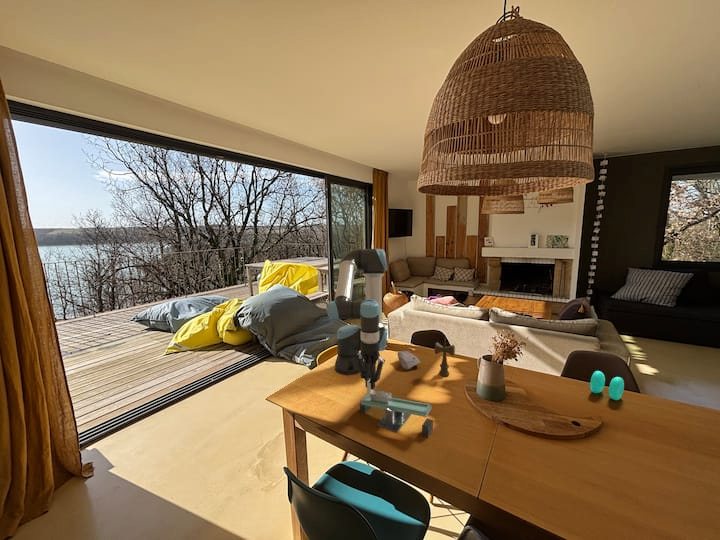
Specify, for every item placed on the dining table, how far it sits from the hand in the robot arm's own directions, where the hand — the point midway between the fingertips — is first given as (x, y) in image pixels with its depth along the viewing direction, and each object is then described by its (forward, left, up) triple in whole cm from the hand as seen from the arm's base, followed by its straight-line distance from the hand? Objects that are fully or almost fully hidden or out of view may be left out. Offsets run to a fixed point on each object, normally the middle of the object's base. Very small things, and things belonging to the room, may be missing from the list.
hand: (370, 395), depth 124 cm
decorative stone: (-48, -4, -8) cm, 48 cm away
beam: (0, +11, -1) cm, 11 cm away
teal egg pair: (-65, +83, -8) cm, 106 cm away
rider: (0, +5, -1) cm, 5 cm away
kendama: (-47, +16, -8) cm, 50 cm away
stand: (0, +11, -7) cm, 13 cm away
